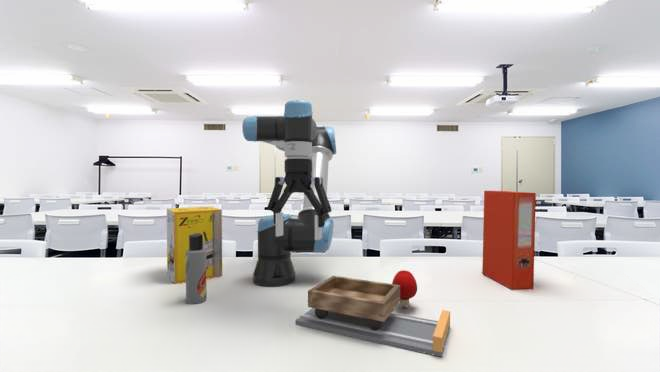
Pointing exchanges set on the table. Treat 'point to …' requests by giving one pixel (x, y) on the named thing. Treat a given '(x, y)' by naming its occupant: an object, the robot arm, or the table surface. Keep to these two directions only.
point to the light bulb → (405, 286)
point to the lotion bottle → (196, 270)
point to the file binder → (509, 238)
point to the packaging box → (178, 232)
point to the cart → (355, 299)
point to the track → (386, 329)
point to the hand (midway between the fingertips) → (298, 237)
